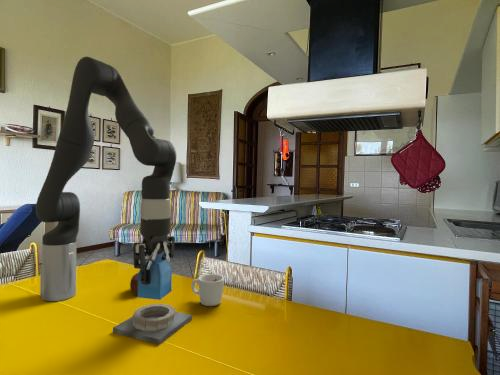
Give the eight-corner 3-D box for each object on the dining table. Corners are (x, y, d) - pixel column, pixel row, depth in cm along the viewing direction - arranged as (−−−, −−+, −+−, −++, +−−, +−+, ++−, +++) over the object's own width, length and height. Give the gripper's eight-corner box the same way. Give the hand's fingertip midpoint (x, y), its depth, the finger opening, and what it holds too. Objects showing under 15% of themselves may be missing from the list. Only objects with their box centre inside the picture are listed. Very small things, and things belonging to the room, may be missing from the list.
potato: (123, 295, 101) (123, 276, 101) (136, 286, 110) (137, 268, 110) (143, 297, 100) (144, 277, 100) (155, 287, 109) (155, 269, 109)
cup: (184, 304, 95) (185, 278, 95) (198, 295, 103) (199, 271, 102) (215, 310, 91) (216, 283, 91) (227, 300, 99) (228, 275, 98)
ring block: (112, 332, 77) (113, 318, 77) (150, 310, 90) (150, 298, 90) (159, 344, 72) (159, 329, 72) (191, 319, 85) (192, 306, 85)
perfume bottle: (160, 299, 77) (160, 251, 77) (137, 297, 78) (138, 250, 78) (171, 291, 83) (171, 246, 83) (150, 289, 84) (150, 245, 84)
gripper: (161, 212, 88) (160, 270, 89) (123, 218, 75) (123, 286, 75) (183, 214, 86) (182, 273, 86) (149, 220, 72) (148, 291, 73)
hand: (155, 279), depth 81 cm, fingers closed on perfume bottle, 6 cm apart
